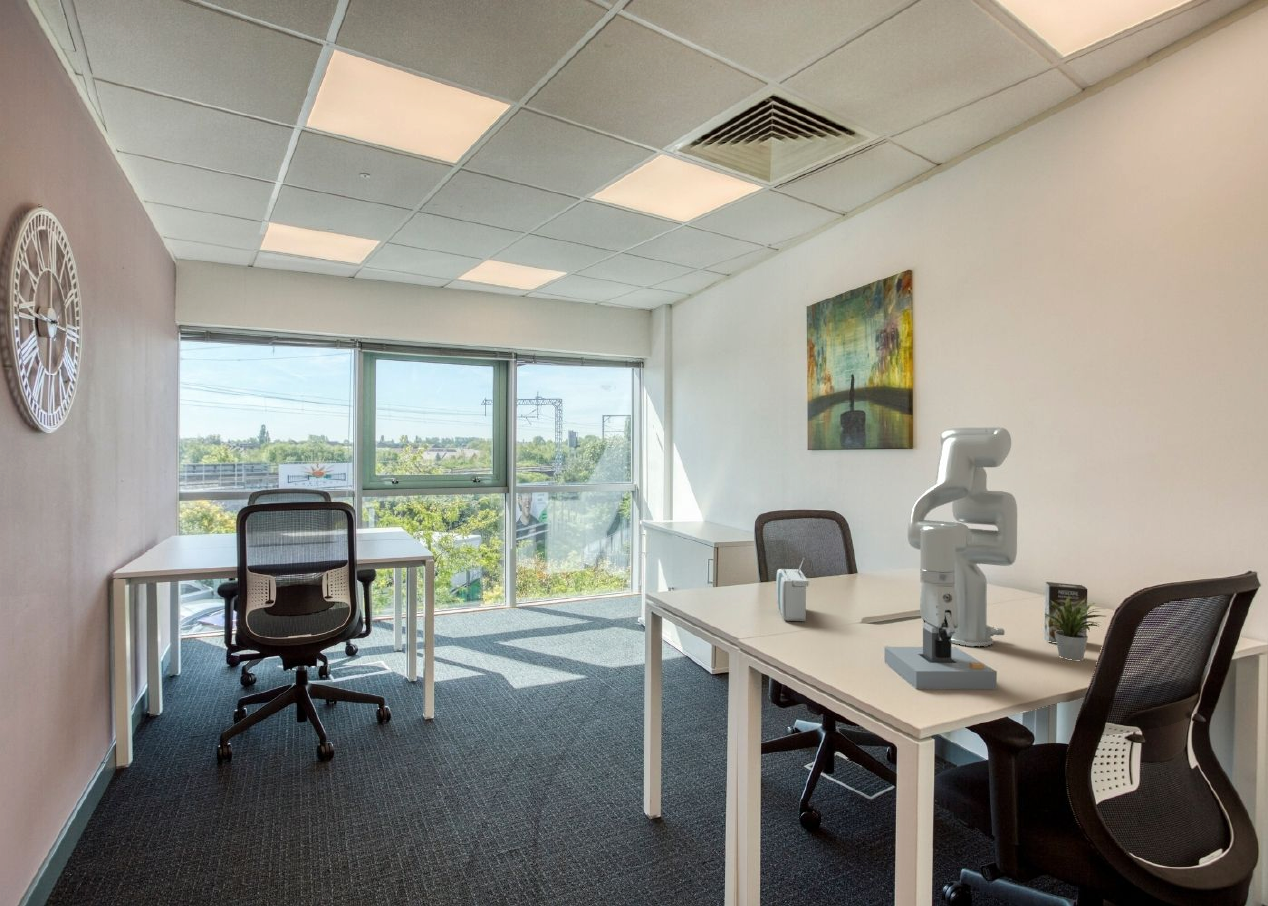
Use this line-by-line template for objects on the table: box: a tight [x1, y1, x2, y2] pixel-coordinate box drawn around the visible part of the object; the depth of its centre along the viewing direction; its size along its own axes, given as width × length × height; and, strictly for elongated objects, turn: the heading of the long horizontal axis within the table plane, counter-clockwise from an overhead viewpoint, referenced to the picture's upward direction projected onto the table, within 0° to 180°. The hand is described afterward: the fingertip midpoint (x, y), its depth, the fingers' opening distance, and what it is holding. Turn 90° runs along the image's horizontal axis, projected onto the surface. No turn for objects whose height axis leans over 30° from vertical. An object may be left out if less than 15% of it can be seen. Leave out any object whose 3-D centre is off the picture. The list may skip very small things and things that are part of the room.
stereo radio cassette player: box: [775, 557, 810, 622], centre depth 208 cm, size 21×8×20 cm, turn 172°
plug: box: [922, 622, 952, 663], centre depth 151 cm, size 5×5×10 cm
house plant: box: [1046, 594, 1106, 660], centre depth 163 cm, size 14×14×16 cm
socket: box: [883, 646, 998, 690], centre depth 151 cm, size 18×18×5 cm
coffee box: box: [1044, 581, 1088, 642], centre depth 178 cm, size 9×6×16 cm
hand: (937, 652), depth 151 cm, fingers closed on plug, 4 cm apart
